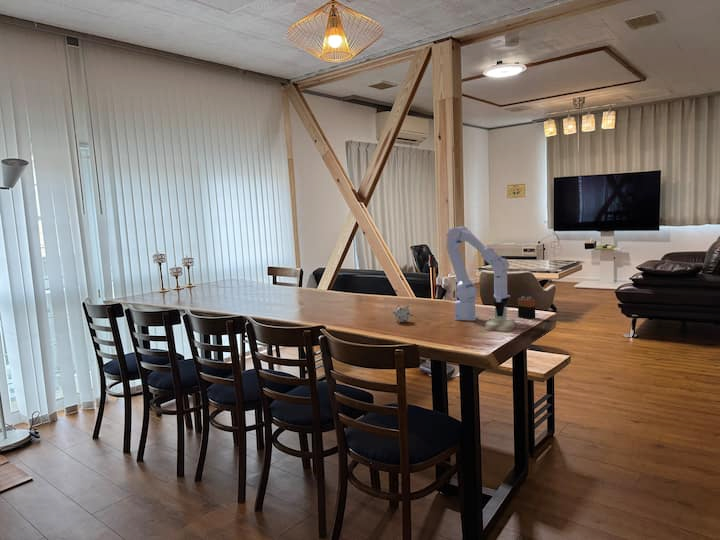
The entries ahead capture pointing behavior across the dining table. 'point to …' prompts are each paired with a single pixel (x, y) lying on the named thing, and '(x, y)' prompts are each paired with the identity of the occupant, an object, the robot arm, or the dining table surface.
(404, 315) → the grey spiky ball
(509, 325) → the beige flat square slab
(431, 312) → the dining table surface
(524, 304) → the battery
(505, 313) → the mint block
